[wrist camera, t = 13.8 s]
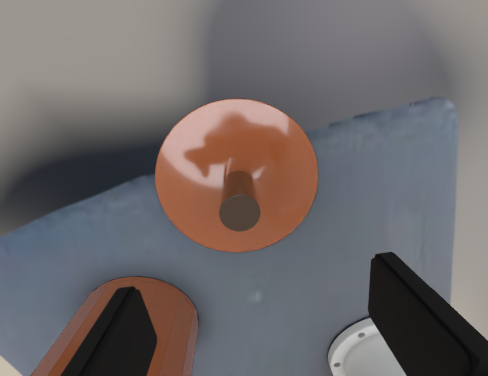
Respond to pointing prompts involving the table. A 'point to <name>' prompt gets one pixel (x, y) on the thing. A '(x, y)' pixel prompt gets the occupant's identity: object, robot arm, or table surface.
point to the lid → (236, 175)
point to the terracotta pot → (163, 319)
